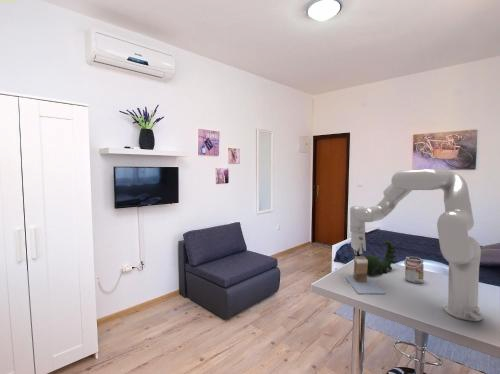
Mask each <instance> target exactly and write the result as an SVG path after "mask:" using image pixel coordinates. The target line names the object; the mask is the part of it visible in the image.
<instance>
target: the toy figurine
mask: <svg viewBox="0 0 500 374" xmlns="http://www.w3.org/2000/svg"><path fill="white" fill-rule="evenodd" d="M385 245H386V246H387V249H386V253H385V256H384V258H383V259H379V257H378V256H376V255H374V254H366V255H365V256H364V257H365V258H366V259H367V260H368V267H367V276H368V275H369V276H371V275H373V273H374V272H377V273H379V274H383V273H385V274H387V273H388V272H389V271H391V270H393V267H392V264H396V262H395V260H394V259H395V258H396V255H394V254H395V253H396V252H397V251H396V250H395V249H396V248H397V247H396V245H394V244H393V243H392V242H391V241H389V240H385V241H384V242H383V243H382V246H385ZM388 270H389V271H388Z"/></svg>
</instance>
